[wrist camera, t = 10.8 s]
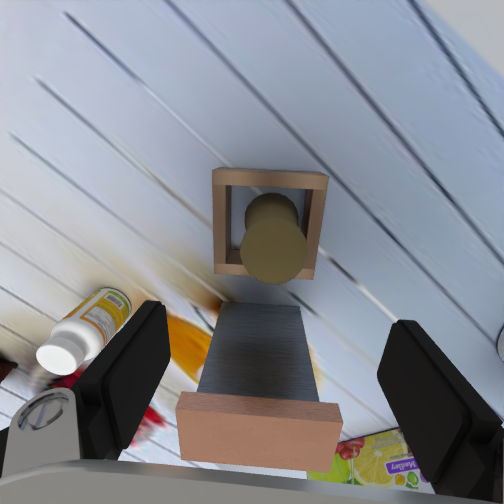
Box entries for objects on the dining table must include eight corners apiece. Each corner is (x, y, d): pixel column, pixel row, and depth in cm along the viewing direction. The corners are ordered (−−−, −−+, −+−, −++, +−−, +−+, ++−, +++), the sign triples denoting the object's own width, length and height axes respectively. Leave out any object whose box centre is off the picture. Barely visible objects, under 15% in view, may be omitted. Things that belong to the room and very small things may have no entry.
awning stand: (303, 280, 30) (343, 422, 14) (298, 314, 32) (329, 473, 16) (222, 275, 31) (175, 409, 15) (222, 309, 33) (181, 459, 17)
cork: (241, 195, 27) (226, 222, 17) (297, 189, 26) (317, 215, 16) (247, 246, 29) (237, 298, 19) (299, 243, 29) (317, 294, 18)
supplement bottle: (96, 318, 34) (36, 378, 26) (89, 285, 32) (21, 337, 23) (134, 322, 34) (87, 383, 25) (129, 288, 32) (76, 342, 23)
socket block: (319, 172, 25) (329, 176, 22) (307, 263, 29) (313, 279, 26) (219, 167, 26) (212, 170, 22) (220, 258, 30) (214, 273, 26)
